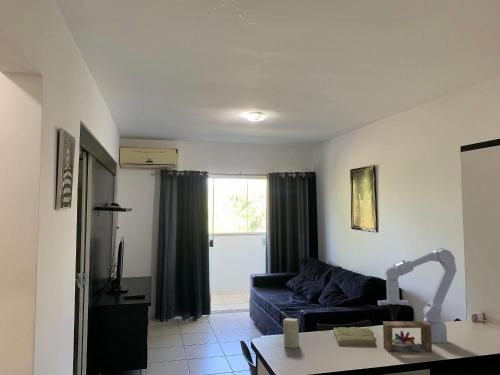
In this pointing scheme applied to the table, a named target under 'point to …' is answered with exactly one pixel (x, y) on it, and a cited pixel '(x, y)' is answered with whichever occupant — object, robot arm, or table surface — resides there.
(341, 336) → the folded green towel
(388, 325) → the walnut shelf
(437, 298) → the robot arm
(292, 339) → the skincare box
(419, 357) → the table surface
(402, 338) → the multicoloured spiky piece
